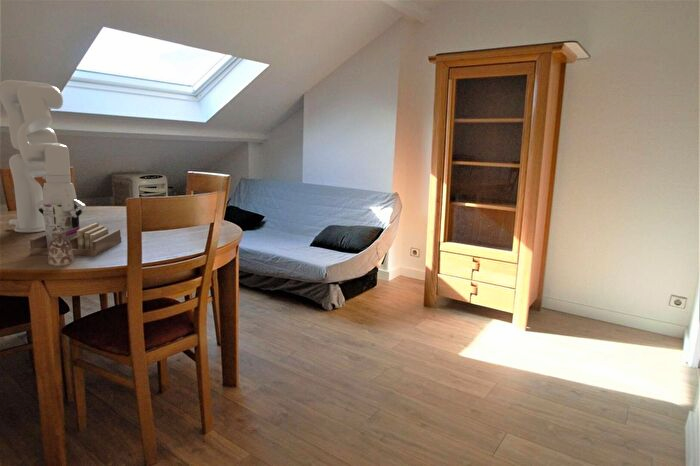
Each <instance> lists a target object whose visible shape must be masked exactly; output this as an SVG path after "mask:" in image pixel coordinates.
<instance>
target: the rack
mask: <svg viewBox="0 0 700 466" xmlns="http://www.w3.org/2000/svg"><path fill="white" fill-rule="evenodd" d="M68 241H69V242H70V243H71V245H72V250H73V256H74V257H75V256H76V257H78V256H79V257H80V256H81V257H83V256H85V257H96V256H99V255H101V254H102V253H104V252H106V251H107V250H110V249H111V248H113V247H115V246H116V245H118V244H120V243H121V242H122V236H121V229H119V228H117V229H115V230H113V231H111V232H108V234H107V235H105V236H103V237H101V238H99V239H97V240H95V241H92V246H93V250H90V249H78V240H77V236H75V237H73V238H70V239H68ZM29 243H30V244H29V245H30V248H29V254H30V255H39V256H40V255H41V256H43V255H45V256H47V255H49V248H47V241H46V233H44V234H41V235H39V236H35V237H33V238H31V239H29Z"/></svg>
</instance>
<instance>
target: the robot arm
mask: <svg viewBox="0 0 700 466" xmlns="http://www.w3.org/2000/svg"><path fill="white" fill-rule="evenodd" d="M0 102H1V104H2V105H3V108H4V111H5V112H6V115H7V121H8V129H9V130H8V131H9V136H10V142H11V145H12V147H13V148H14V149H16V150H19V153H17V154H14V155H12V156H11V157H10V158H9V161H8V164H9V165H8V166H9V168H10V173H11V176H12V181H13V186H14V193H15V194H14V196H15V197H14V198H15V205H16V216H17V219H9V220H8V225H10V226H11V225H14V226H15V227H14V228H13V230H14V232H16V233H39V232H45V222H44V213H43V205H50V204H51V205H61V208H62V211H63V212H70V213H71V214H72V215H73V217H72V228H76V227H78V225H79V226H80V216H81V215H82V214H83V213H84V211H85V209H86V208H87V205H86V204H85V203H83V202H82V201H80V200H78V198H77V197H78V196H77V194H76V188H75V186H74V183H72V176H71V175H72V174H71V162H70V160H71V159H70V151H69V147H68V146H67V145H65V144H62V143H60V142H58V137H57V134H56V132H55V130H53V129H52V128H50V126H51V125H52V123H53V118H52V114H51V111H50V109H51V110H52V109H53V110H59V109H61V108H62V107H63V104H64V98H63V95H62V92H61V91H60V89H59V88H57V87H56V86H55V85H51V84H49V83H45V82H37V81H28V80H18V79H17V80H16V79H14V80H13V79H6V80H2V81H1V82H0ZM35 178H42V180H45V182H44V183H43V187H42V185H41V184H40V183H39V182H38V181H37V180H36V179H35ZM77 206H78V207H79V208H78V211H77V210H76V209H77Z"/></svg>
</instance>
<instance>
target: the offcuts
mask: <svg viewBox="0 0 700 466" xmlns="http://www.w3.org/2000/svg"><path fill="white" fill-rule="evenodd" d="M107 234H109V228H106V227H105V225H99V222H94V223H91V224H89V225H86V226H84V227H81V228H80V229H79V230H77V240H78V249H90V250H93V246H92V241H95V240H97V239H99V238H101V237H103V236H105V235H107Z"/></svg>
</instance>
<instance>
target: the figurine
mask: <svg viewBox="0 0 700 466" xmlns="http://www.w3.org/2000/svg"><path fill="white" fill-rule="evenodd" d="M52 237H53V240H52V241H51V242H50V244H49V255H48V257H47V263H48V265H50V266H55V267H56V266H57V267H59V266H65V265H71V264H73V263H74V262H75V259H74V257H75V256H74V255H73V250H72V245H71V243H70V242H69V241H68V240H67V239H66V230H65V229H64V228H62V227H61V226H57V227H56V228H54V229H53V231H52Z"/></svg>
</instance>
